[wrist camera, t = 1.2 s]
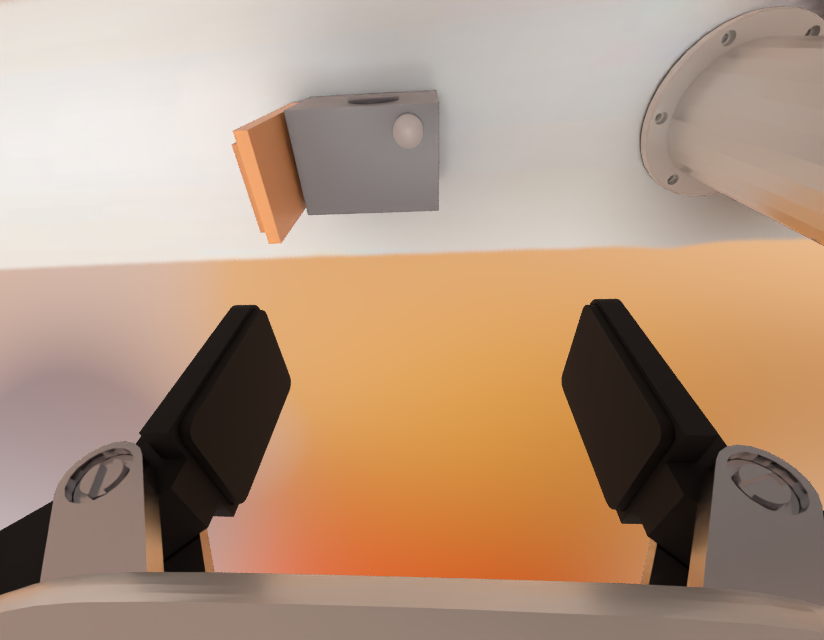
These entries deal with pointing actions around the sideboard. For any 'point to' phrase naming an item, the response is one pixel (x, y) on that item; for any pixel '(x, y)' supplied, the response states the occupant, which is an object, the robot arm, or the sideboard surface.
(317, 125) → the camera housing
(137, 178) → the sideboard surface
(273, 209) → the side door
